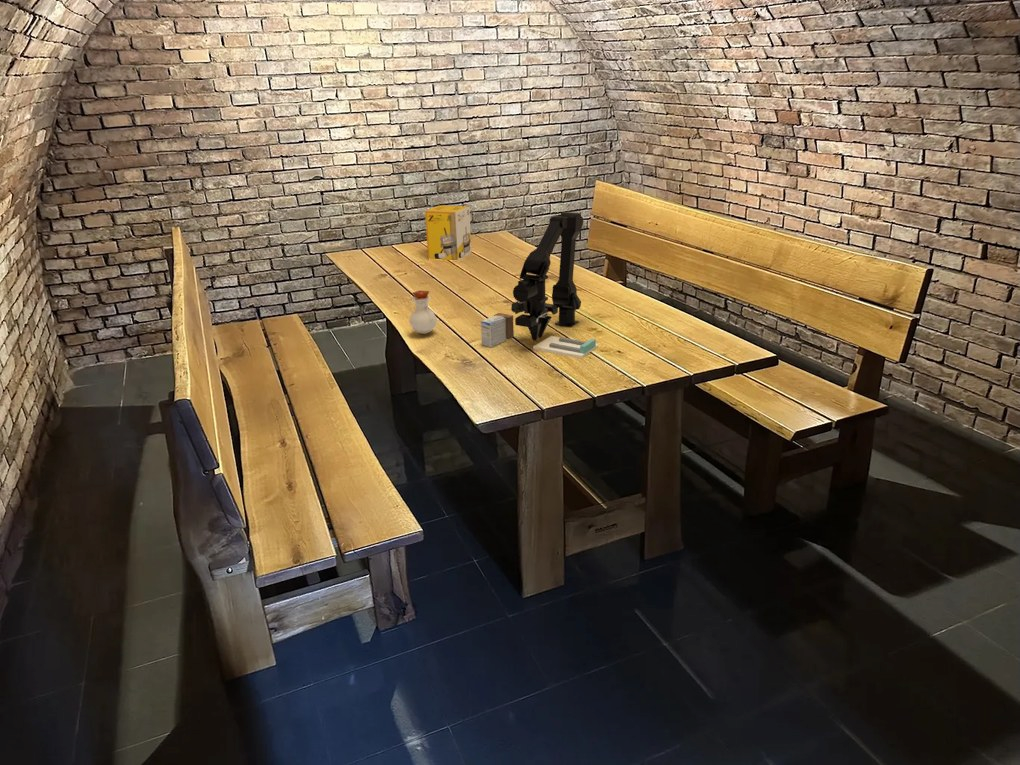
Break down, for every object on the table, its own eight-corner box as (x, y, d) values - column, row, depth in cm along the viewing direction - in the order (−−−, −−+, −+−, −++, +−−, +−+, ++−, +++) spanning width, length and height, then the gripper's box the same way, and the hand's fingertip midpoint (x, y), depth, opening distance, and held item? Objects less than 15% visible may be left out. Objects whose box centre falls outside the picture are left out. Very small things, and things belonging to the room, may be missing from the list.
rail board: (551, 339, 251) (551, 329, 249) (598, 347, 242) (598, 337, 240) (533, 349, 242) (533, 339, 240) (581, 359, 232) (581, 348, 231)
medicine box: (496, 338, 253) (495, 315, 249) (506, 341, 250) (505, 317, 247) (481, 345, 247) (480, 320, 244) (491, 347, 244) (490, 323, 241)
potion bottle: (439, 336, 256) (437, 294, 251) (412, 339, 254) (408, 297, 248) (435, 328, 265) (432, 288, 259) (408, 331, 262) (405, 290, 257)
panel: (498, 312, 254) (513, 315, 251) (499, 334, 257) (513, 337, 254) (493, 315, 251) (508, 317, 248) (494, 337, 254) (509, 339, 251)
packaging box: (458, 264, 355) (455, 212, 345) (428, 261, 360) (424, 210, 350) (471, 256, 368) (469, 206, 359) (442, 254, 374) (439, 205, 364)
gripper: (530, 284, 252) (531, 327, 258) (500, 298, 237) (502, 343, 243) (558, 288, 246) (558, 332, 252) (530, 303, 232) (530, 349, 238)
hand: (537, 339), depth 247 cm, fingers open, 3 cm apart
